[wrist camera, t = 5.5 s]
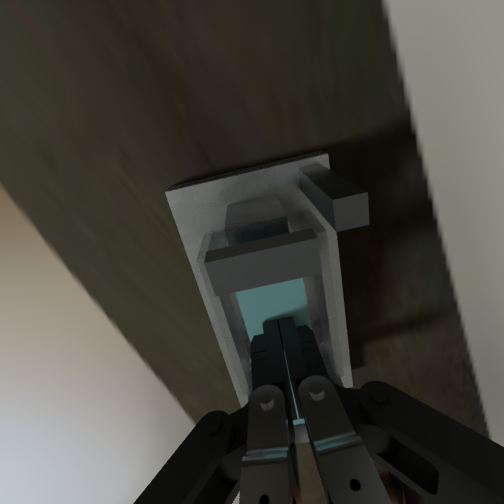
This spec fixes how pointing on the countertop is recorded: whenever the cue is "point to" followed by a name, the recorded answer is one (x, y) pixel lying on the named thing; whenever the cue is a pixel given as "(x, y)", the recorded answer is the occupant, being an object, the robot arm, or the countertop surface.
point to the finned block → (267, 225)
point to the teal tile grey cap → (268, 283)
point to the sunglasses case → (392, 488)
